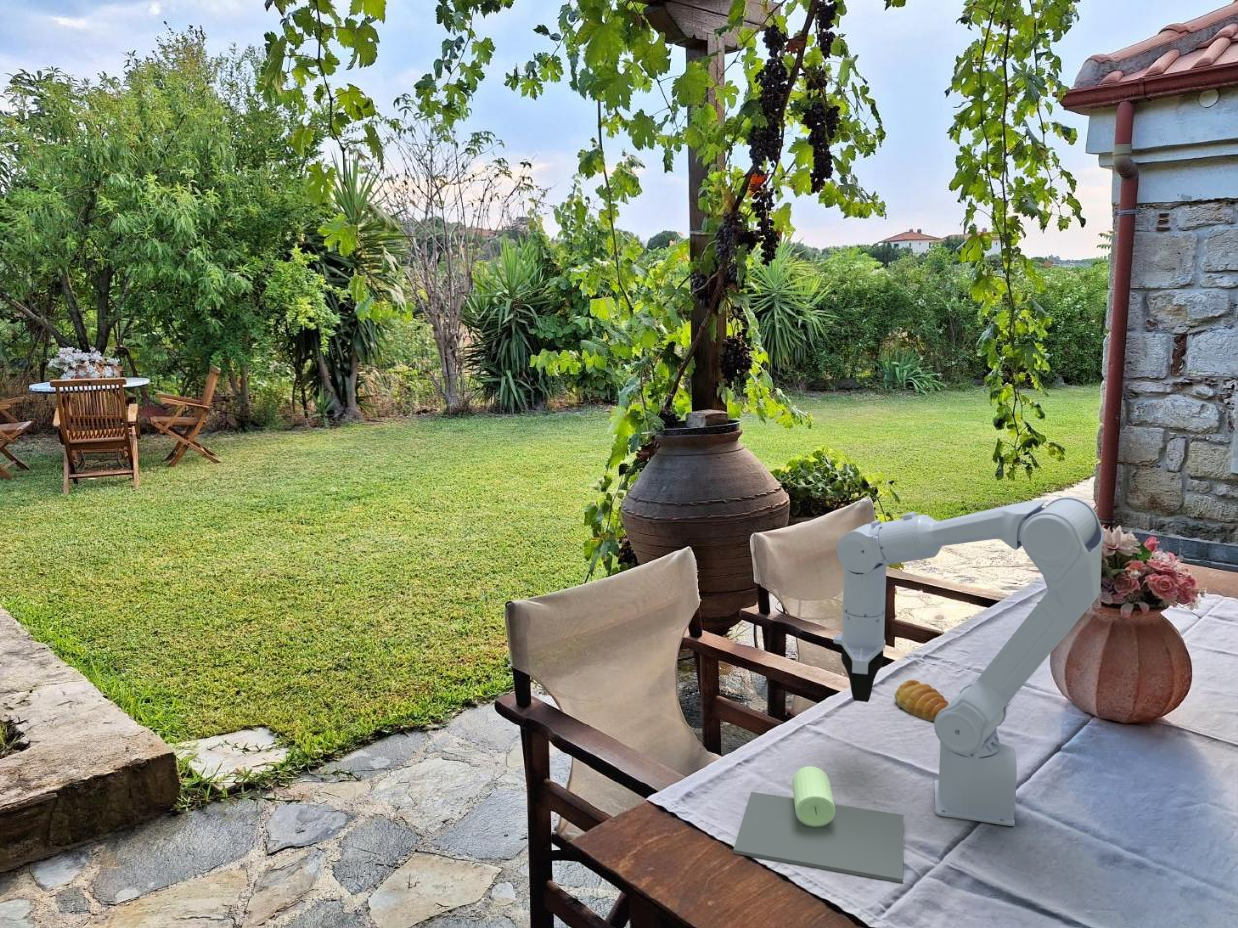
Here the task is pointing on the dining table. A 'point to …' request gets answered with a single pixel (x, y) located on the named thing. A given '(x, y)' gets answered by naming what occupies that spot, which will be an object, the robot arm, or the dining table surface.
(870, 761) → the dining table surface
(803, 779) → the candle
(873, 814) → the mat
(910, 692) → the pastry
